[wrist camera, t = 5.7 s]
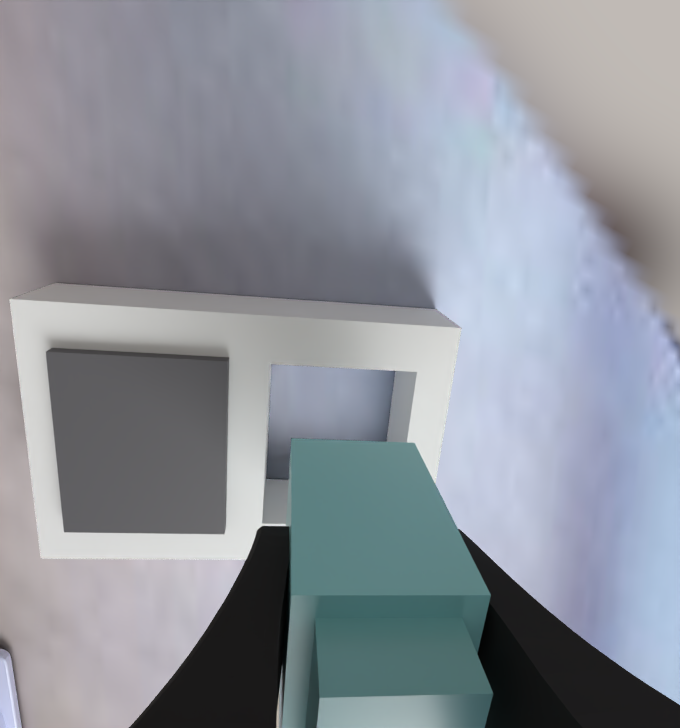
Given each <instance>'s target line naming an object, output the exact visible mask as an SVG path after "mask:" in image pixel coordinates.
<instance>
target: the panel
mask: <svg viewBox="0 0 680 728" xmlns="http://www.w3.org/2000/svg"><path fill="white" fill-rule="evenodd" d="M9 301H10V309H11V317H12V325H13V334H14V342H15V350H16V358H17V367H18V375H19V383H20V391H21V400H22V408H23V416H24V424H25V433H26V441H27V449H28V457H29V466H30V474H31V482H32V490H33V499H34V507H35V515H36V523H37V532H38V540H39V548H40V556H41V559H184V560H246V559H247V557H248V555H249V552H250V550H251V548H252V545H253V542H254V539H255V536H256V532H257V530H258V529H259V528H260V527H262V526H286V515H287V500H288V484H289V480H279V479H266V470H267V449H268V428H269V406H270V385H271V364H275V365H294V366H313V367H332V368H351V369H370V370H388V371H395V378H394V386H393V393H392V401H391V409H390V417H389V424H388V432H387V440H386V442H408V443H415V445H416V447H417V449H418V451H419V453H420V455H421V457H422V459H423V461H424V463H425V465H426V467H427V469H428V471H429V473H430V475H431V477H432V479H433V481H434V483H436V477H437V471H438V465H439V459H440V453H441V447H442V441H443V435H444V429H445V423H446V417H447V412H448V406H449V400H450V394H451V388H452V382H453V376H454V370H455V364H456V358H457V352H458V346H459V340H460V334H461V327H459V326H458V325H457V324H455V323H454V322H453V321H451V320H450V319H449V318H447V317H446V316H445V315H443V314H442V313H441V312H439V311H438V310H437V309H428V308H414V307H399V306H384V305H370V304H355V303H341V302H326V301H312V300H297V299H283V298H268V297H253V296H239V295H224V294H210V293H195V292H181V291H166V290H152V289H137V288H122V287H108V286H93V285H79V284H64V283H53V284H51V285H48V286H45V287H42V288H39V289H36V290H33V291H31V292H28V293H25V294H22V295H19V296H16V297H13V298H11V299H9Z"/></svg>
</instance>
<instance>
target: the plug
mask: <svg viewBox="0 0 680 728" xmlns="http://www.w3.org/2000/svg"><path fill="white" fill-rule="evenodd" d="M286 526H289V544H290V557H289V572H288V587H287V602H286V616H285V631H284V646H283V661H282V670H281V679H280V698H279V728H485V724H486V720H487V716H488V712H489V708H490V704H491V701H492V697H493V692H492V689H491V687H490V684H489V682H488V679H487V677H486V674H485V672H484V669H483V667H482V665H481V662H480V660H479V657H478V655H477V653H478V649H479V645H480V640H481V636H482V632H483V627H484V623H485V619H486V614H487V610H488V606H489V601H490V597H491V594H490V592H489V590H488V588H487V586H486V584H485V582H484V580H483V578H482V576H481V574H480V572H479V570H478V568H477V566H476V564H475V563H474V561H473V559H472V557H471V555H470V553H469V551H468V549H467V547H466V545H465V543H464V541H463V539H462V537H461V535H460V533H459V531H458V529H457V527H456V525H455V523H454V521H453V519H452V517H451V515H450V513H449V511H448V509H447V507H446V505H445V503H444V501H443V499H442V497H441V495H440V493H439V491H438V489H437V487H436V485H435V483H434V481H433V479H432V477H431V475H430V473H429V471H428V469H427V467H426V465H425V463H424V461H423V459H422V457H421V455H420V453H419V451H418V449H417V447H416V445H415V443H408V442H380V441H352V440H325V439H297V438H291V452H290V468H289V484H288V500H287V515H286Z"/></svg>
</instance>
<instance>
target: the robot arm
mask: <svg viewBox="0 0 680 728" xmlns="http://www.w3.org/2000/svg"><path fill="white" fill-rule="evenodd" d="M458 531H459V533H460V535H461V537H462V539H463V541H464V543H465V545H466V547H467V549H468V551H469V553H470V555H471V557H472V559H473V561H474V563H475V564H476V566H477V568H478V570H479V572H480V574H481V576H482V578H483V580H484V582H485V584H486V586H487V588H488V590H489V592H490V594H491V597H490V601H489V606H488V610H487V614H486V619H485V623H484V627H483V632H482V636H481V640H480V645H479V649H478V653H477V655H478V657H479V660H480V662H481V665H482V667H483V669H484V672H485V674H486V677H487V679H488V682H489V684H490V687H491V689H492V692H493V697H492V701H491V704H490V708H489V712H488V716H487V720H486V724H485V728H680V705H679V704H677V703H676V702H674V701H672V700H671V699H669V698H668V697H666V696H665V695H663V694H661V693H660V692H658V691H657V690H655V689H654V688H652V687H650V686H649V685H647V684H646V683H644V682H643V681H641V680H640V679H638V678H637V677H635V676H634V675H632V674H631V673H629V672H628V671H626V670H625V669H624V668H622V667H621V666H619V665H618V664H617V663H615V662H614V661H612V660H611V659H610V658H608V657H607V656H606V655H604V654H603V653H601V652H600V651H599V650H597V649H596V648H594V647H593V646H592V645H590V644H589V643H588V642H586V641H585V640H584V639H583V638H581V637H580V636H579V635H577V634H576V633H575V632H573V631H572V630H571V629H570V628H569V627H567V626H566V625H565V624H564V623H563V622H561V621H560V620H559V619H558V618H556V617H555V616H554V615H553V614H552V613H550V612H549V611H548V610H547V609H546V608H544V607H543V606H542V605H541V604H540V603H539V602H537V601H536V600H535V599H534V598H533V597H532V596H531V595H529V594H528V593H527V592H526V591H525V590H524V589H523V588H522V587H521V586H519V585H518V584H517V583H516V582H515V581H514V580H513V579H512V578H511V577H510V576H509V575H508V574H506V573H505V572H504V571H503V570H502V569H501V568H500V567H499V566H498V565H497V564H496V563H495V562H494V561H493V560H492V559H491V558H490V557H488V556H487V555H486V554H485V553H484V552H483V551H482V550H481V549H480V548H479V547H478V546H477V545H476V544H475V543H474V542H473V541H472V540H471V539H470V538H469V537H467V536H466V535H465V534H464V533H463V532H462V531H461V530H460V529H458ZM289 557H290V544H289V526H262V527H260V528H259V529H258V530H257V532H256V536H255V539H254V542H253V545H252V548H251V550H250V552H249V555H248V557H247V559H246V561H245V563H244V566H243V568H242V570H241V572H240V573H239V575H238V577H237V579H236V581H235V583H234V585H233V587H232V588H231V590H230V592H229V594H228V596H227V597H226V599H225V601H224V602H223V604H222V606H221V607H220V609H219V610H218V612H217V614H216V615H215V617H214V618H213V620H212V622H211V623H210V625H209V626H208V628H207V630H206V631H205V633H204V634H203V636H202V637H201V638H200V640H199V641H198V643H197V644H196V646H195V647H194V648H193V650H192V651H191V653H190V654H189V655H188V657H187V658H186V659H185V661H184V662H183V663H182V665H181V666H180V667H179V669H178V670H177V671H176V673H175V674H174V675H173V676H172V678H171V679H170V680H169V681H168V683H167V684H166V685H165V686H164V687H163V689H162V690H161V691H160V692H159V694H158V695H157V696H156V697H155V698H154V700H153V701H152V702H151V703H150V705H149V706H148V707H147V708H146V709H145V710H144V712H143V713H142V714H141V715H140V716H139V717H138V718H137V720H136V721H135V722H134V723H133V724H132V725H131V726H130V727H129V728H276V720H277V706H278V697H279V688H280V679H281V670H282V661H283V646H284V631H285V616H286V602H287V587H288V572H289ZM0 728H22V725H21V719H20V712H19V706H18V700H17V693H16V687H15V680H14V674H13V667H12V661H11V656H10V654H9V653H8V652H7V651H6V650H4V649H0Z"/></svg>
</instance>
